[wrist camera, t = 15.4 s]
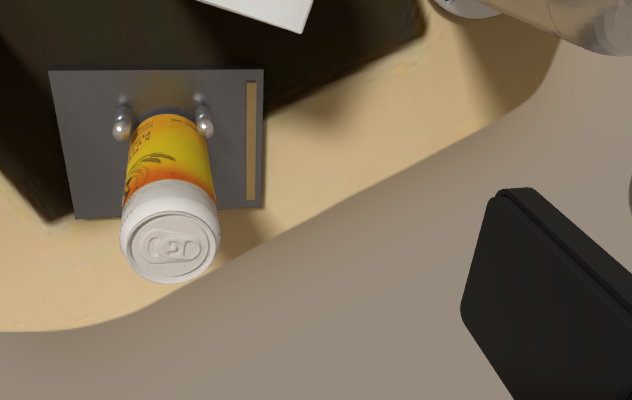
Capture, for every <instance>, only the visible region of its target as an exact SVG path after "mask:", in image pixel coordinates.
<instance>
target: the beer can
mask: <svg viewBox="0 0 632 400" xmlns="http://www.w3.org/2000/svg"><path fill="white" fill-rule="evenodd" d="M119 241H120V247H121V250H122V253H123V255H124V256H125V258H126V259H127V260H128V262H129V264H130V266H131V267H132V269H133V270H134V271H135V272H136V273H137V274H139V275H140V276H141V277H143V278H145V279H147V280H149V281H152V282H155V283H160V284H178V283H183V282H186V281H189V280H191V279H194V278H196V277H197V276H199V275H200V274H202V273H203V272H204V271H205V270H206V269H207V268H208V267H209V266H210V264H211V263H212V261H213V259H214V256H215V255H216V253H217V251H218V249H219V246H220V242H221V231H220V225H219V219H218V212H217V206H216V200H215V194H214V188H213V182H212V175H211V169H210V163H209V157H208V151H207V145H206V140H205V138H202V137H200V136H199V134H198V130H197V125H196V124H194V123H193V122H192V121H190V120H189V119H187V118H185V117H182V116H179V115H175V114H160V115H156V116H153V117H150V118H148V119H146V120H145V121H143V122H142V123H141V124H140V125H139V126H138V127H137V128H136V129H135V131H134V132H133V134H132V137H131V140H130V147H129V156H128V165H127V174H126V183H125V191H124V200H123V209H122V218H121V227H120V236H119Z"/></svg>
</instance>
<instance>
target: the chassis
mask: <svg viewBox="0 0 632 400" xmlns="http://www.w3.org/2000/svg"><path fill="white" fill-rule="evenodd" d="M48 73H49V79H50V84H51V89H52V95H53V100H54V106H55V111H56V116H57V122H58V127H59V132H60V138H61V143H62V149H63V154H64V159H65V165H66V170H67V175H68V181H69V186H70V191H71V197H72V202H73V208H74V213H75V218H76V219H85V218H100V217H115V216H122V209H123V200H124V191H125V183H126V174H127V165H128V156H129V147H130V140H131V137H132V134H133V132H134V131H135V129H136V128H137V127H138V126H139V125H140V124H141V123H142V122H143V121H145V120H146V119H148V118H150V117H153V116H156V115H160V114H175V115H179V116H182V117H185V118H187V119H189V120H190V121H192V122H193V123H194V124H196V125H197V130H198V134H199V136H200V137H202V138H205V140H206V145H207V151H208V157H209V163H210V169H211V175H212V182H213V188H214V194H215V200H216V206H217V210H221V209H236V208H252V207H261V178H262V127H263V76H264V69H263V67H262V65H131V66H50V68H49V70H48Z"/></svg>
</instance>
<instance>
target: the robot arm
mask: <svg viewBox="0 0 632 400" xmlns="http://www.w3.org/2000/svg"><path fill="white" fill-rule="evenodd" d="M434 1H435V3H436V4H438V5H439V6H441V7H442V8H443V9H445V10H446V11H448V12H450V13H453V14H455V15H457V16H460V17H464V18H468V19H484V18H489V17H494V16H497V15H500V14H502V13H504V14H506V15H508V16H510V17H513V18H515V19H517V20H520V21H522V22H524V23H527V24H529V25H531V26H533V27H536V28H538V29H540V30H543V31H545V32H547V33H550V34H552V35H554V36H556V37H559V38H561V39H563V40H566V41H568V42H570V43H573V44H575V45H578V46H580V47H582V48H584V49H587V50H589V51H592V52H595V53H599V54H602V55H609V56H632V0H434ZM629 206H630V211H631V214H632V176H631V180H630V186H629ZM460 312H461V317H462V320H463V322H464V324H465V326H466V327H467V329H468V330H469V332H470V333H471V335H472V336H473V338H474V339H475V341H476V342H477V344H478V345H479V347H480V348H481V350H482V352H483V353H484V355H485V356H486V358H487V359H488V360H489V362H490V364H491V365H492V367H493V368H494V370H495V371H496V373H497V374H498V376H499V377H500V379H501V380H502V382H503V383H504V385H505V386H506V388H507V389H508V391H509V393H510V394H511V396H512V397H513V399H514V400H632V274H631V273H630V272H629V271H628V270H627V269H626V268H624V267H623V266H622V265H621V264H620V263H619V262H617V261H616V260H615V259H614V258H613V257H612V256H610V255H609V254H608V253H607V252H606V251H605V250H603V248H601V247H600V246H599V245H598V244H597V243H595V242H594V241H593V240H592V239H591V238H590V237H589V236H588V235H586V234H585V233H584V232H583V231H582V230H581V229H580V228H578V227H577V226H576V225H575V224H574V223H573V222H571V221H570V220H569V219H568V218H567V217H566V216H565V215H563V214H562V213H561V212H560V211H559V210H558V209H556V208H555V207H554V206H553V205H552V204H551V203H550V202H548V201H547V200H546V199H545V198H544V197H543V196H542V195H540V194H539V193H538V192H537V191H536V190H534V189H533V188H528V187H526V188H511V189H502V190H500V191H498V193H497V194H496V195H495V197H493V198H491V199H490V200H489V201H488V204H487V207H486V211H485V215H484V219H483V222H482V226H481V230H480V233H479V237H478V241H477V245H476V249H475V252H474V256H473V260H472V263H471V267H470V271H469V275H468V278H467V282H466V286H465V290H464V294H463V297H462V301H461V306H460Z"/></svg>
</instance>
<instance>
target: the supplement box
mask: <svg viewBox="0 0 632 400" xmlns="http://www.w3.org/2000/svg"><path fill="white" fill-rule="evenodd" d="M197 1H200V2H203V3H206V4H209V5H212V6H215V7H218V8H221V9H225V10H228V11H231V12H234V13H237V14H240V15H243V16H246V17H249V18H253V19H256V20H259V21H262V22H265V23H268V24H271V25H274V26H277V27H280V28H283V29H287V30H290V31H292V32H295V33H298V34H302V31H303V29H304V26H305V23H306V21H307V18H308V15H309V12H310V9H311V6H312V4H313V1H314V0H197Z"/></svg>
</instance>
